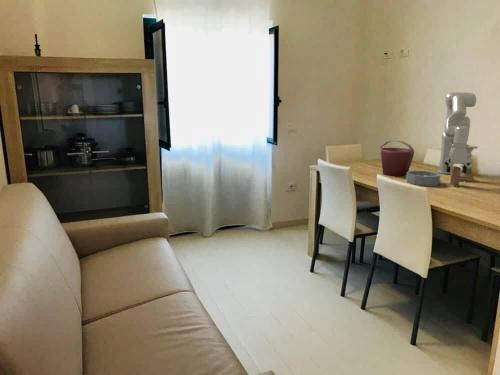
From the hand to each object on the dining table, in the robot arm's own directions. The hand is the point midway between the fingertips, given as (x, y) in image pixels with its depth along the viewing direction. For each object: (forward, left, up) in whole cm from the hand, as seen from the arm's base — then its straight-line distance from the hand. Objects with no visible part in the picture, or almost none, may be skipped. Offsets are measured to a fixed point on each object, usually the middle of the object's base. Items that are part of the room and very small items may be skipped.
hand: (456, 172), depth 253 cm
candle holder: (-16, +13, -9) cm, 23 cm away
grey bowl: (-4, -19, -9) cm, 21 cm away
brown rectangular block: (0, 0, -9) cm, 9 cm away
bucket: (-31, -30, -9) cm, 44 cm away
